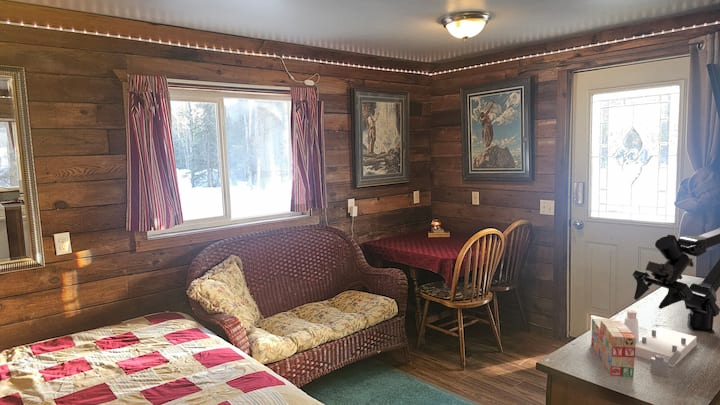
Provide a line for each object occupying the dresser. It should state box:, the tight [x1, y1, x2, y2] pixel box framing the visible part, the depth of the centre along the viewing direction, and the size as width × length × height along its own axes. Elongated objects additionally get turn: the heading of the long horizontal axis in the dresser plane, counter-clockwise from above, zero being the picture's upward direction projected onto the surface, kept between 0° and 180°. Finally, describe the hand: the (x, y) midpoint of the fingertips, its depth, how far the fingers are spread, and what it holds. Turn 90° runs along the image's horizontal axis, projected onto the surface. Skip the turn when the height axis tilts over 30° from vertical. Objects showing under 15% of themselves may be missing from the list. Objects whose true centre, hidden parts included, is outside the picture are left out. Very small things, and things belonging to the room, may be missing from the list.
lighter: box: [650, 350, 682, 377], centre depth 137 cm, size 7×2×8 cm, turn 53°
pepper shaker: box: [623, 309, 640, 344], centre depth 158 cm, size 5×5×11 cm
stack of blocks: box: [590, 317, 636, 378], centre depth 147 cm, size 21×6×12 cm, turn 168°
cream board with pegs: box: [635, 326, 697, 368], centre depth 153 cm, size 22×11×5 cm, turn 130°
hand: (647, 303), depth 160 cm, fingers open, 9 cm apart
